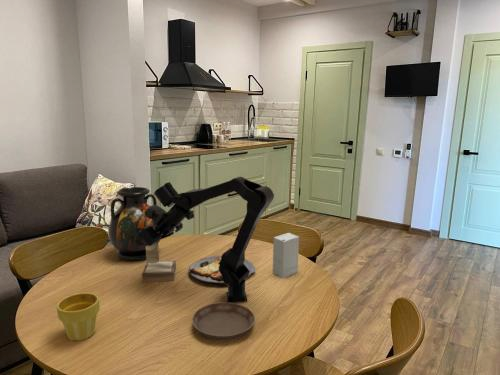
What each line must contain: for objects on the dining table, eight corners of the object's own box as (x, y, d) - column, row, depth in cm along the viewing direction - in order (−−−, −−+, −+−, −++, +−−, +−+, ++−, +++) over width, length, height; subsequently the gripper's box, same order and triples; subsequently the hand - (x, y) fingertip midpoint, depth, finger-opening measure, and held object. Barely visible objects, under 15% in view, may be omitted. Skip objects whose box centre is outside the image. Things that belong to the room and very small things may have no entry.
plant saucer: (222, 304, 119) (222, 295, 118) (266, 325, 108) (267, 315, 107) (179, 328, 105) (179, 319, 105) (225, 355, 94) (225, 344, 94)
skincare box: (287, 267, 146) (288, 231, 143) (298, 273, 142) (300, 236, 139) (271, 273, 141) (272, 236, 138) (282, 279, 136) (284, 240, 133)
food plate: (222, 293, 125) (222, 283, 124) (175, 275, 139) (175, 266, 138) (265, 271, 144) (265, 262, 144) (220, 257, 158) (220, 249, 158)
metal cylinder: (154, 264, 131) (152, 237, 129) (143, 262, 133) (142, 235, 131) (161, 259, 135) (160, 233, 133) (151, 257, 137) (150, 231, 135)
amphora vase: (119, 269, 143) (114, 198, 137) (103, 252, 160) (98, 188, 154) (171, 256, 156) (169, 191, 150) (151, 242, 172) (148, 182, 167)
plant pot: (55, 348, 95) (52, 313, 93) (64, 326, 105) (61, 294, 103) (99, 342, 98) (96, 308, 96) (103, 321, 108) (100, 290, 106)
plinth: (173, 280, 134) (173, 272, 133) (142, 281, 133) (141, 273, 132) (176, 267, 145) (175, 260, 144) (147, 269, 143) (146, 261, 143)
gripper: (174, 193, 136) (151, 219, 142) (142, 205, 119) (116, 233, 125) (194, 216, 135) (169, 241, 141) (163, 231, 118) (137, 259, 124)
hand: (148, 243), depth 133 cm, fingers closed on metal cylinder, 4 cm apart
